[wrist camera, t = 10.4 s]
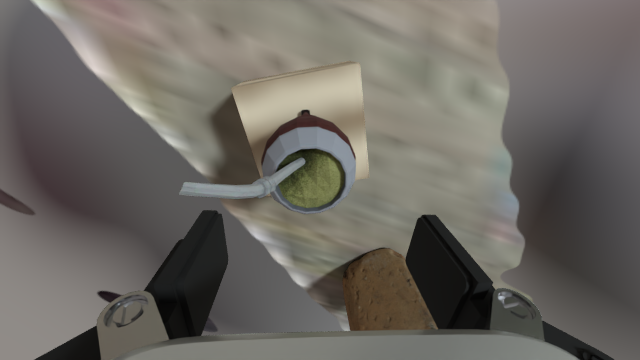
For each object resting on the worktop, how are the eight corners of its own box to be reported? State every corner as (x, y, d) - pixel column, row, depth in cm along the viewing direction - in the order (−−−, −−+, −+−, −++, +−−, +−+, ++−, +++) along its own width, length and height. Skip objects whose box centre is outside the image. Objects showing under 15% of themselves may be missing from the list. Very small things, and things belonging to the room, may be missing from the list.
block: (399, 239, 37) (489, 407, 19) (409, 269, 41) (493, 435, 23) (334, 261, 38) (364, 438, 21) (349, 289, 42) (385, 461, 24)
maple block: (357, 155, 30) (369, 177, 25) (272, 171, 30) (267, 196, 25) (347, 60, 25) (359, 62, 20) (245, 80, 25) (230, 88, 20)
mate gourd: (343, 173, 25) (393, 312, 11) (266, 178, 24) (224, 328, 11) (344, 97, 21) (420, 169, 8) (254, 101, 21) (171, 184, 7)
